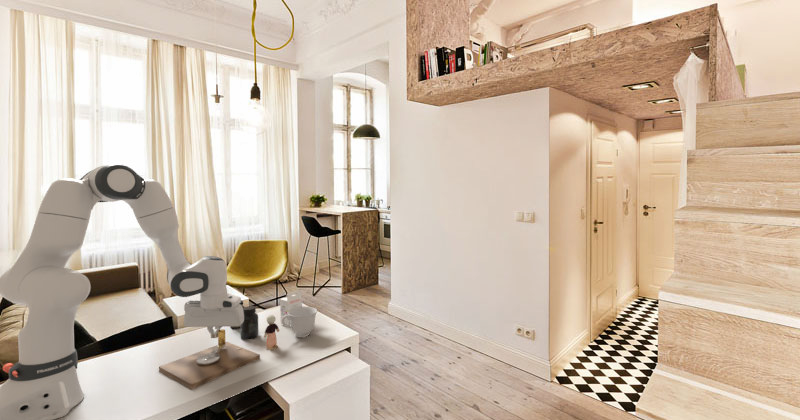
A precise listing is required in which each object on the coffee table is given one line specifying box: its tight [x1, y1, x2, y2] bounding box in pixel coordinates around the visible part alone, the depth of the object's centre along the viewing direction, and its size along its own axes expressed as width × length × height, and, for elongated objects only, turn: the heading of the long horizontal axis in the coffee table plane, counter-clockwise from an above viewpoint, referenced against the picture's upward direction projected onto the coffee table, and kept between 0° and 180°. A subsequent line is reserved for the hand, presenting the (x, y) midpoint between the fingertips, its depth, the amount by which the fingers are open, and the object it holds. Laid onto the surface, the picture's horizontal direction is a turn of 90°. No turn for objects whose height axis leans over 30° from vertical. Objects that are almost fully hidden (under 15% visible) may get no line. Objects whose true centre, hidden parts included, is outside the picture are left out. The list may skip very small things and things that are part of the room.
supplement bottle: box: [239, 305, 259, 341], centre depth 151 cm, size 7×7×12 cm
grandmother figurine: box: [263, 314, 280, 351], centre depth 141 cm, size 8×4×13 cm, turn 168°
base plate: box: [158, 341, 261, 390], centre depth 128 cm, size 24×20×2 cm
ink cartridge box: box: [279, 289, 303, 325], centre depth 167 cm, size 9×5×15 cm, turn 147°
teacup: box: [282, 306, 318, 338], centre depth 153 cm, size 12×15×10 cm
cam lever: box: [197, 328, 226, 365], centre depth 130 cm, size 14×7×6 cm, turn 4°
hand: (214, 337), depth 136 cm, fingers closed
